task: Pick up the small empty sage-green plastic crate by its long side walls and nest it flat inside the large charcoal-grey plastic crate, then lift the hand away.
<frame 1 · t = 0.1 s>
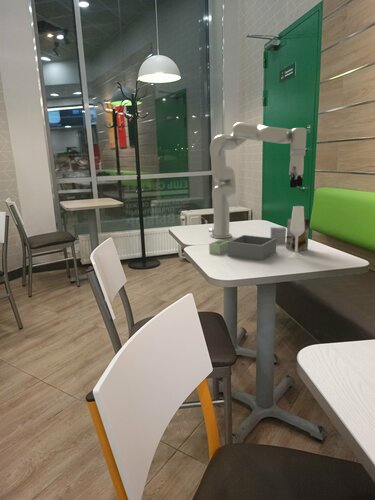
hand: (296, 186, 187), 31 cm above the table, tool pointing down, fingers open, 9 cm apart
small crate: (219, 251, 183), on the table
champagne flute: (295, 256, 170), on the table
coffee box: (296, 249, 184), on the table
medicine box: (277, 243, 199), on the table
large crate: (252, 254, 176), on the table
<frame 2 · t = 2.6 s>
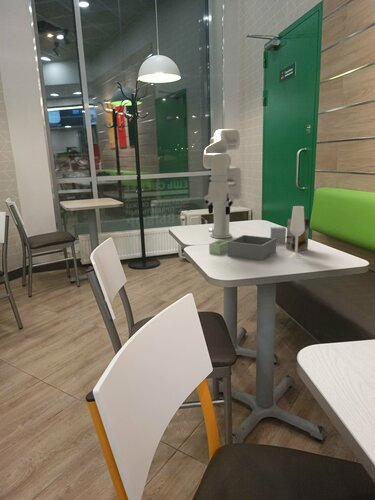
hand: (219, 213, 178), 20 cm above the table, tool pointing down, fingers open, 9 cm apart
nothing on the table moved.
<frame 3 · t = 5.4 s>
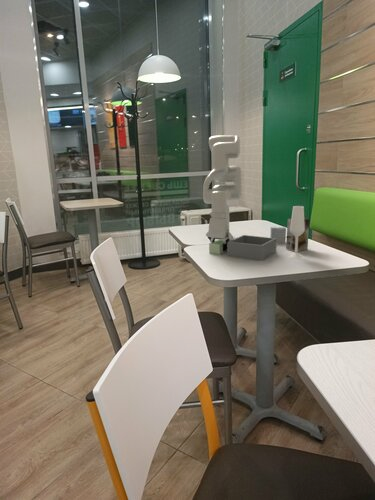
hand: (219, 249, 183), 1 cm above the table, tool pointing down, fingers closed on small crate, 6 cm apart
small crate: (219, 251, 183), on the table, touching gripper
everything else where it was.
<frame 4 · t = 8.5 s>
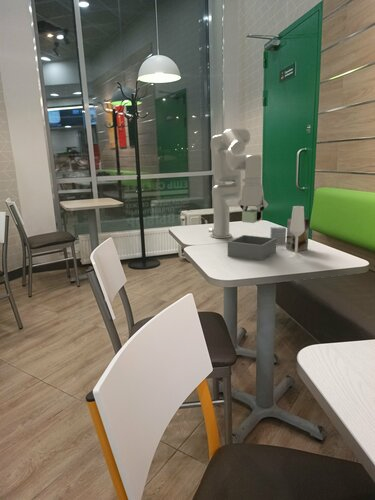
hand: (252, 219, 172), 18 cm above the table, tool pointing down, fingers closed on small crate, 6 cm apart
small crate: (252, 220, 172), point 17 cm above the table, touching gripper
everything else where it was.
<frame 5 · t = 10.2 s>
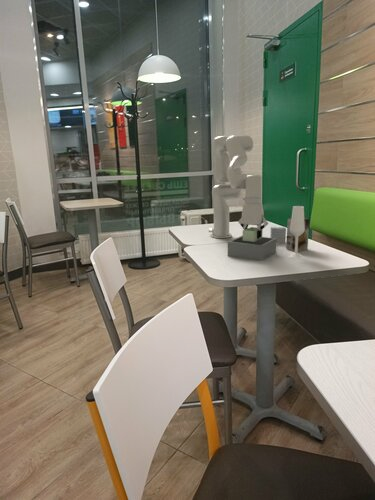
hand: (252, 237, 174), 9 cm above the table, tool pointing down, fingers closed on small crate, 6 cm apart
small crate: (252, 239, 174), point 8 cm above the table, touching gripper
everything else where it was.
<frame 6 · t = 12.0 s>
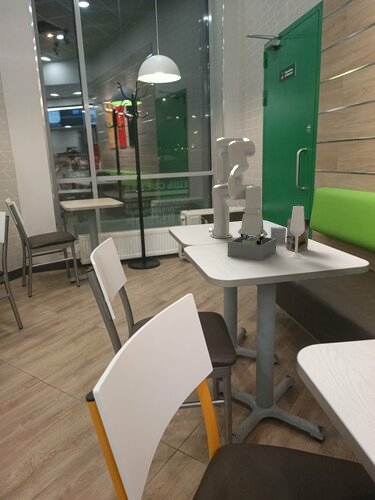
hand: (252, 247, 176), 3 cm above the table, tool pointing down, fingers closed on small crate, 5 cm apart
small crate: (252, 249, 176), point 2 cm above the table, touching gripper
everything else where it was.
when the fingers open (3 cm above the table, at t = 12.1 s): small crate drops 1 cm, resting on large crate.
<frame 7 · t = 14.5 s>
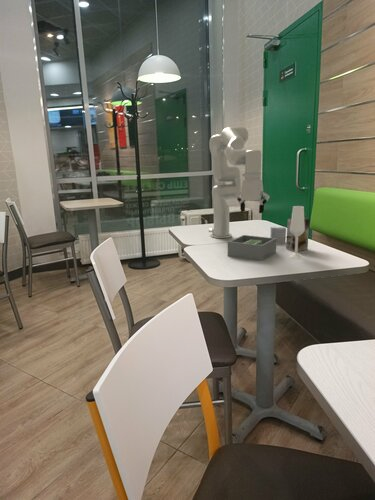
hand: (251, 212, 174), 21 cm above the table, tool pointing down, fingers open, 9 cm apart
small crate: (252, 251, 176), point 1 cm above the table, touching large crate
everything else where it was.
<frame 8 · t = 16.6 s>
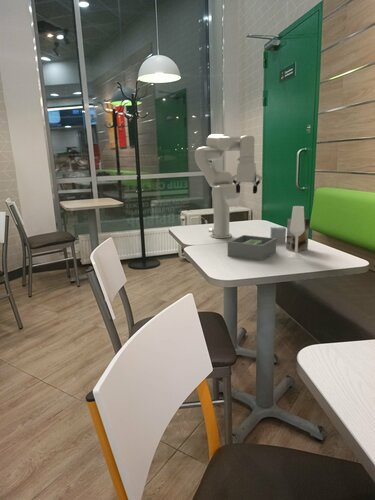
hand: (246, 193, 190), 28 cm above the table, tool pointing down, fingers open, 9 cm apart
nothing on the table moved.
at the end: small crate inside the target area on the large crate (0.1 cm from its centre), point 1.2 cm above the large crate's base; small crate tilted 0°; the gripper is holding nothing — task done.
